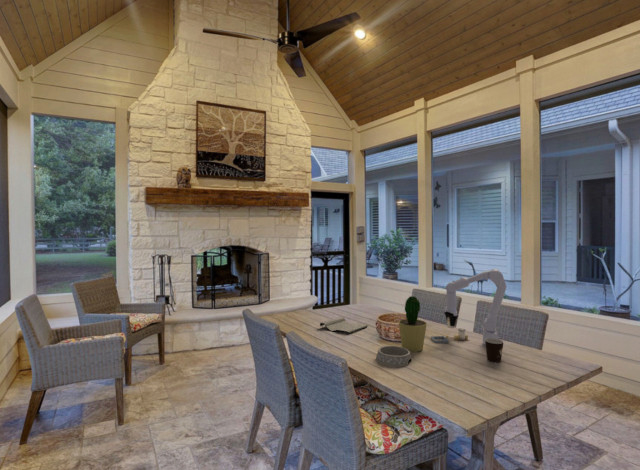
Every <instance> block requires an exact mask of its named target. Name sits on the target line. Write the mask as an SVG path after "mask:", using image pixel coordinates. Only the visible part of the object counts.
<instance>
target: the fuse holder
mask: <svg viewBox="0 0 640 470" xmlns="http://www.w3.org/2000/svg"><path fill="white" fill-rule="evenodd" d="M444 337H446V338H447V339H448V340H449V342H470V341H471V340H470V339H469V336H468V334H465V340H459V336H458V334H454V336H452V337H449V335H447V334H445V335H444Z"/></svg>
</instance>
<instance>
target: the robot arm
mask: <svg viewBox="0 0 640 470" xmlns="http://www.w3.org/2000/svg"><path fill="white" fill-rule="evenodd" d="M481 280H487V281H489V280H490V281H491V282H492V283H493V284H494V285H495V286H496V290H495V293H494V296H493V300H492V302H491V305H490V308H489V311H488V314H487V316H486V318H484V321H483V328H482V344H483V345H484V346H486V344H485V339H498V340H501V339H500V335H499V334H498V333H497V329H496V326H497V325H496V324H497V318H498V314H499V311H500V308H501V307H502V306H501V305H502V302H503V299H504V296H505V293H506V290H507V288H508V287H507V284H506V281H505V278H504V275H503V273H502V272H501V271H500V270H499V269H496V268H493V269H491V270H485V271H481V272H480V273H477V274H475V275H472V276H469V277H465V276H464V277H462V276H461V277H459V279H456V280H452V281H451V282H448V283H447V284H446V285H445V290H446V294H445V307H444V310H443V311H444V312H443V314H444V316H445V318H446V320H447V317H449V319H450V326H454V327H455V325H456V322H457V319H458V318H459V315H458V311H457V291H460V290H462V289H464V288H465V289H466V288H468V287H469V286H470V284H472V283H475V282H478V281H481Z"/></svg>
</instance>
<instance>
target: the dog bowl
mask: <svg viewBox="0 0 640 470" xmlns="http://www.w3.org/2000/svg"><path fill="white" fill-rule="evenodd" d="M375 360H376V362H377V363H378V364H380V365H382V366H386V367H391V368H392V367H393V368H403V367H407V366H408V364H409V361H411V362H412V361H413V360H412V356H411V351H409V350H407V349H405V348H403V347H402V346H398V345H384V346H381V347H379V348H378V349H377V353H376V357H375Z"/></svg>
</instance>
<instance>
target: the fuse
mask: <svg viewBox="0 0 640 470" xmlns="http://www.w3.org/2000/svg"><path fill="white" fill-rule="evenodd" d="M457 333H458V334H457V335H458V336H459V340H465V335H466V328H463V327H462V328H461V327H459V328H458V331H457Z"/></svg>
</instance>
